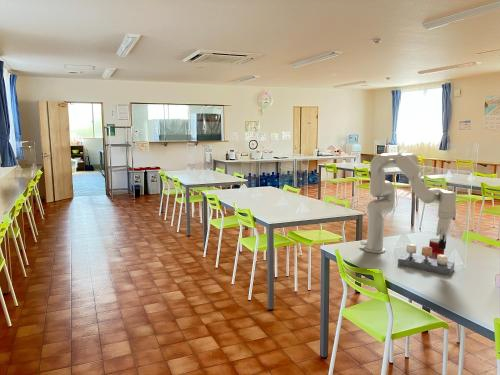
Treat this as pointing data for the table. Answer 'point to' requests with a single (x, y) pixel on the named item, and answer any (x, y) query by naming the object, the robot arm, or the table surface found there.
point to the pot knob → (426, 252)
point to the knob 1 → (411, 249)
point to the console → (425, 264)
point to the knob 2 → (442, 259)
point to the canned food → (435, 248)
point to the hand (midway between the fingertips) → (441, 248)
